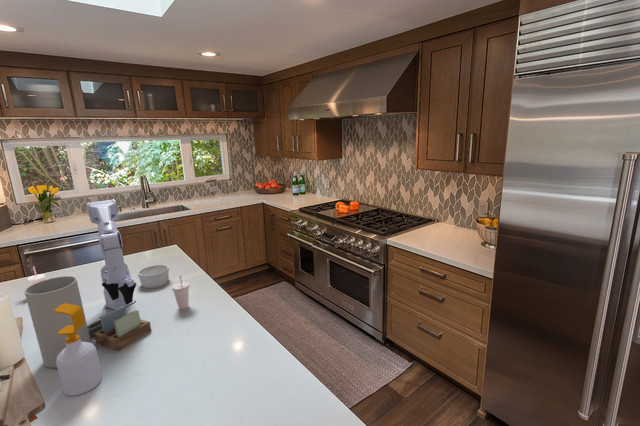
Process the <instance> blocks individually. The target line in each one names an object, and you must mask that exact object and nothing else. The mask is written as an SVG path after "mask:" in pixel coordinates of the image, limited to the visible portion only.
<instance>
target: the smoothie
mask: <svg viewBox="0 0 640 426" xmlns="http://www.w3.org/2000/svg"><path fill="white" fill-rule="evenodd" d="M179 281H180V282H176V283H175V284H173V285H172V286H171V290H172V291H173V294H174V297H175V300H176V301H175V302H176V304H177V307H178V309H179V310H181V311H182V310H186V309H188V308H189V305H190V304H189V297H190V295H189V291H190V290H189V288H190V284H189V282H188V281H187V282H185V281H183V280H182V275H179Z"/></svg>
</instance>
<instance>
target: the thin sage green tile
mask: <svg viewBox="0 0 640 426" xmlns="http://www.w3.org/2000/svg"><path fill="white" fill-rule="evenodd" d="M140 316H141V315H140V311H139V309H134V310H132V311H131V312H128V313H126V315H125V316H123V317H121V318H119V319H117V320H115V321H114V325H115V330H116V334H117V339H118V338H120V337H122V336H123V335H125V334H127V333H128V332H130V331H132V330H134V329H135V328H137V327H139V326H140V325H141V321H140V319H141V317H140Z"/></svg>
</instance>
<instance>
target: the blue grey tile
mask: <svg viewBox="0 0 640 426" xmlns="http://www.w3.org/2000/svg"><path fill="white" fill-rule="evenodd" d="M125 315H127V312H126V307H124V306H121V307H119V308H117V309H112V310H111V311H110V312H108V313H106V314H103V315H101V316H99V320H101V325H102V329H103V334H105V333H107V332H108V331H110V330H112V329H114V328H115V325H114V321H115V320H117V319H119V318H121V317H123V316H125Z"/></svg>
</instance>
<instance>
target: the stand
mask: <svg viewBox="0 0 640 426" xmlns="http://www.w3.org/2000/svg"><path fill="white" fill-rule="evenodd" d="M87 327H88V332H89V336H90V340H91V339H95V338H94V333H96V332H98V331H99V330H101V329H102V325H101V320H100V319H97V320H96V321H94V322H92V323H90V324H87Z"/></svg>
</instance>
